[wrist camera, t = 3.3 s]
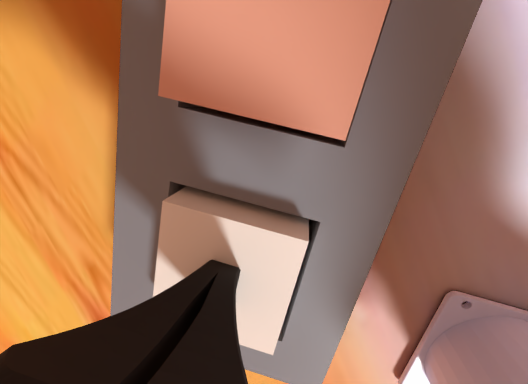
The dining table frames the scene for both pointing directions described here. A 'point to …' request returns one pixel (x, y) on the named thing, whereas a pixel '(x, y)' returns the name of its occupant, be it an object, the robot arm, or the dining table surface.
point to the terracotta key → (272, 58)
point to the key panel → (283, 169)
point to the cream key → (235, 255)
